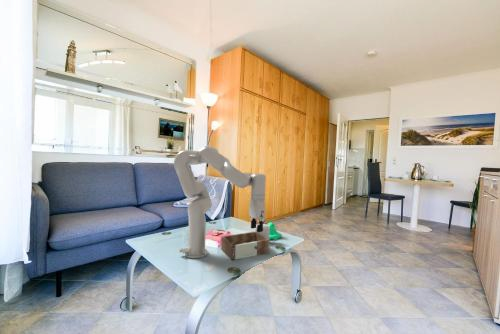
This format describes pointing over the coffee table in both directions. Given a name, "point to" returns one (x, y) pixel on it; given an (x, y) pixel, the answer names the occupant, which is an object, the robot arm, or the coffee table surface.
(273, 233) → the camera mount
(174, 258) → the coffee table surface
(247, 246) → the door
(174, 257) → the coffee table surface
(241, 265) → the coffee table surface
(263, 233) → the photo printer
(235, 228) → the coffee table surface
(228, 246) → the brown wooden open box
